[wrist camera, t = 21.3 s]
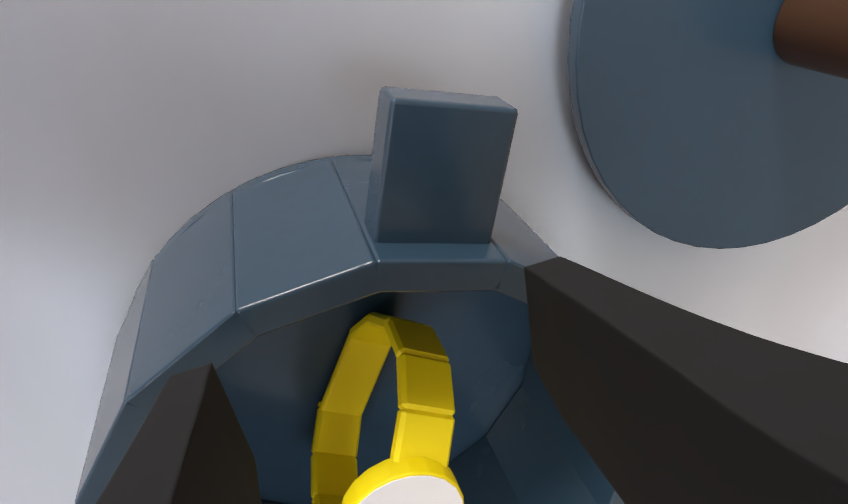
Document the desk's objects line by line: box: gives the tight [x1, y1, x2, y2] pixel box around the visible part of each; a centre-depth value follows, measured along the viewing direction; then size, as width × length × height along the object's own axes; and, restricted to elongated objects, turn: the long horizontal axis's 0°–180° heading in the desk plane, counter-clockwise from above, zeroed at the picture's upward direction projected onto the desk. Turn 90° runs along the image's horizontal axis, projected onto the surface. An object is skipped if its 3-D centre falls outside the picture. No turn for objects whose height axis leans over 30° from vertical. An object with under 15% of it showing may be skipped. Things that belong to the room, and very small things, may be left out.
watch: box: [311, 312, 464, 504], centre depth 16 cm, size 6×3×6 cm, turn 156°
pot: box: [75, 86, 624, 504], centre depth 17 cm, size 13×18×6 cm
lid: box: [568, 0, 848, 249], centre depth 16 cm, size 14×14×4 cm
